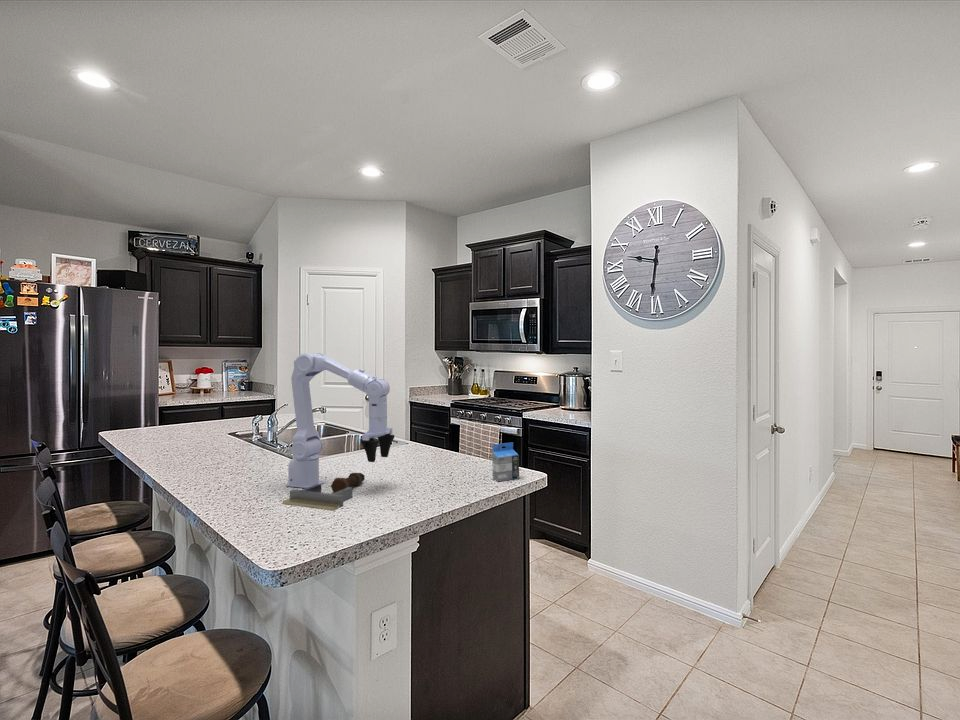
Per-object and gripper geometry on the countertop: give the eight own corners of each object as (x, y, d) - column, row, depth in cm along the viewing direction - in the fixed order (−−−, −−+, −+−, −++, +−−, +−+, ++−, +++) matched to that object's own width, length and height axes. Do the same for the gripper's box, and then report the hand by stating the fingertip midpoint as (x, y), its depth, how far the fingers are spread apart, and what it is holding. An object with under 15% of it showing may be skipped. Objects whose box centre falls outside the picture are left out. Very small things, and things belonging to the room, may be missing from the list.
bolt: (363, 488, 172) (340, 499, 157) (351, 480, 173) (328, 490, 158) (370, 473, 171) (349, 483, 157) (359, 465, 172) (336, 474, 158)
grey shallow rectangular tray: (282, 503, 148) (282, 493, 148) (310, 492, 159) (310, 483, 159) (333, 510, 141) (333, 499, 141) (359, 498, 153) (359, 488, 153)
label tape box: (498, 482, 171) (498, 446, 171) (492, 479, 175) (491, 444, 175) (519, 478, 176) (519, 443, 176) (513, 476, 179) (512, 442, 179)
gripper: (376, 420, 154) (376, 465, 154) (400, 415, 167) (400, 455, 167) (356, 419, 156) (356, 463, 157) (382, 414, 170) (382, 454, 170)
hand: (378, 459), depth 162 cm, fingers open, 7 cm apart
